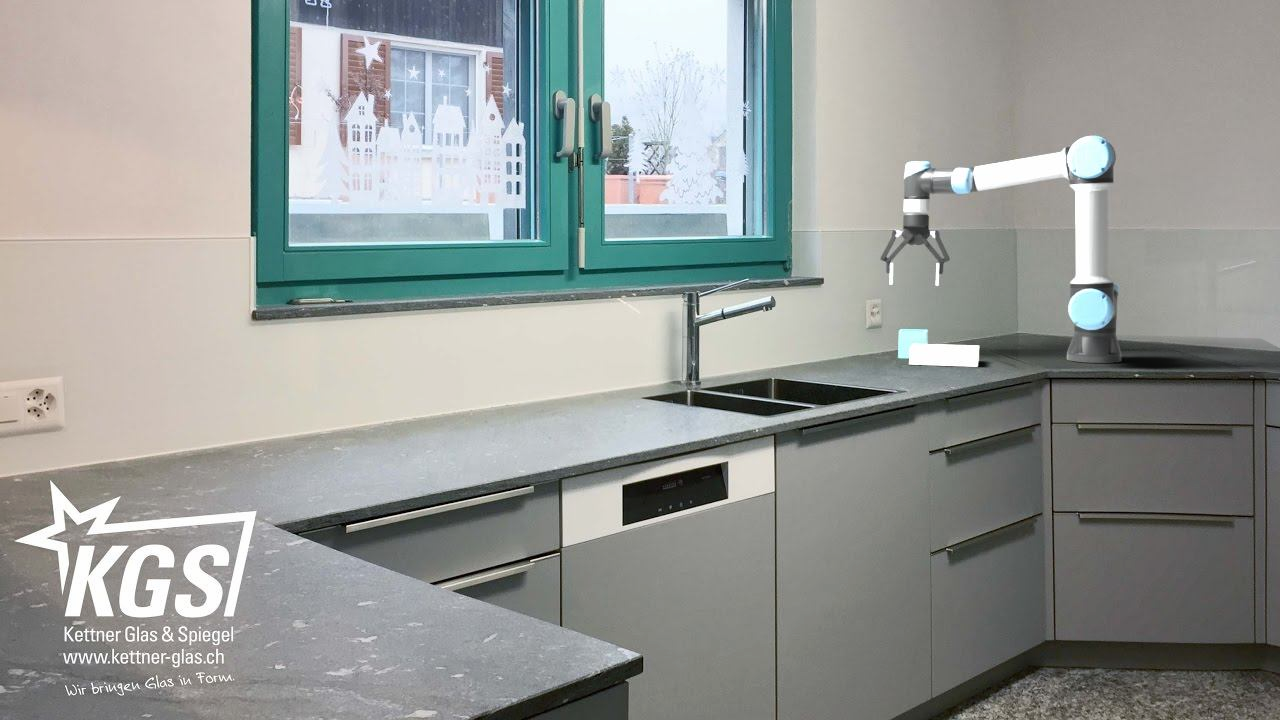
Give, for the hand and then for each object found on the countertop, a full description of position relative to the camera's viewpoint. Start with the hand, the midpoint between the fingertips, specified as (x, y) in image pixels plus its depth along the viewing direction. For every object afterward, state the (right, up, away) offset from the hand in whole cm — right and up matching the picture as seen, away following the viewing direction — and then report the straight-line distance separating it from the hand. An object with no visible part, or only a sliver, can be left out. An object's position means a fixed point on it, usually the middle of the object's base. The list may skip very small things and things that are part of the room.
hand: (914, 284), depth 365 cm
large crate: (+6, -23, -13) cm, 27 cm away
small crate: (0, -22, +3) cm, 22 cm away
